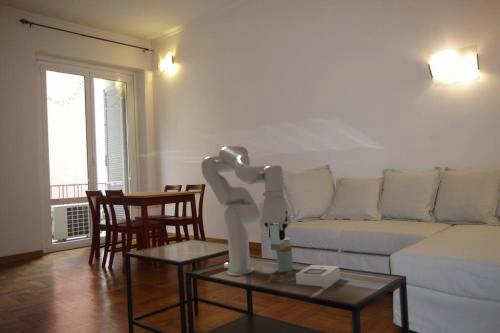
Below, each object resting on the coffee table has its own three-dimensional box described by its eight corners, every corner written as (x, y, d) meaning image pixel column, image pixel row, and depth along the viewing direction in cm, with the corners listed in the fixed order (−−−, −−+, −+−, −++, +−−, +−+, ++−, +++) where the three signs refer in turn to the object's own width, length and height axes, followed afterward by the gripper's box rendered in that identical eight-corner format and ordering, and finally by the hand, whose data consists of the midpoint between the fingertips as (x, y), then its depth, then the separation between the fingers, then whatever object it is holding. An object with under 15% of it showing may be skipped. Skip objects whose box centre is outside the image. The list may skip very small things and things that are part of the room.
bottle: (292, 273, 173) (290, 240, 174) (276, 274, 175) (274, 240, 175) (293, 270, 180) (291, 237, 181) (278, 270, 181) (276, 238, 182)
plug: (271, 249, 161) (269, 225, 161) (275, 247, 164) (274, 224, 165) (279, 250, 159) (278, 225, 159) (284, 248, 162) (283, 224, 162)
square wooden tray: (265, 283, 160) (265, 275, 160) (274, 278, 167) (274, 270, 167) (287, 285, 155) (286, 276, 155) (296, 280, 161) (295, 272, 161)
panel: (296, 286, 152) (295, 273, 153) (312, 276, 166) (311, 264, 166) (325, 289, 146) (324, 275, 146) (340, 278, 160) (339, 265, 160)
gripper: (252, 196, 163) (255, 240, 163) (288, 195, 154) (291, 241, 154) (261, 194, 170) (264, 237, 169) (296, 194, 161) (299, 238, 160)
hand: (277, 238), depth 162 cm, fingers closed on plug, 4 cm apart
